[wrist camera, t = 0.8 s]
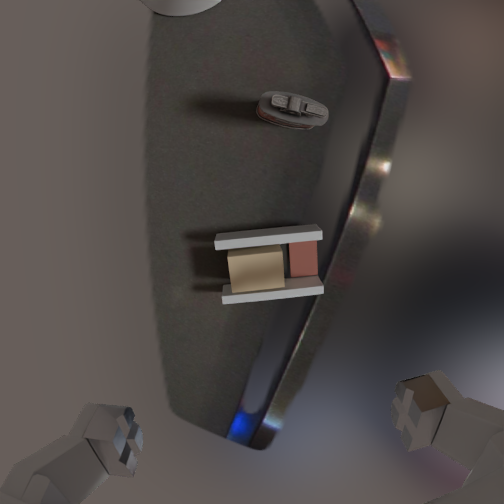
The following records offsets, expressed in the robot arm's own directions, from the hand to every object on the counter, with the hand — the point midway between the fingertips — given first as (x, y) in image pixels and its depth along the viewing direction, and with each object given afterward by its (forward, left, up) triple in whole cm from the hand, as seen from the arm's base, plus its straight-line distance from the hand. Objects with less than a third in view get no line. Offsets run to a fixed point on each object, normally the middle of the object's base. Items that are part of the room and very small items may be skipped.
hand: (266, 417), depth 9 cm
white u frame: (+8, +2, -37) cm, 38 cm away
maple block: (+8, 0, -38) cm, 38 cm away
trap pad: (+8, +7, -37) cm, 39 cm away
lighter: (-12, +6, -38) cm, 40 cm away
